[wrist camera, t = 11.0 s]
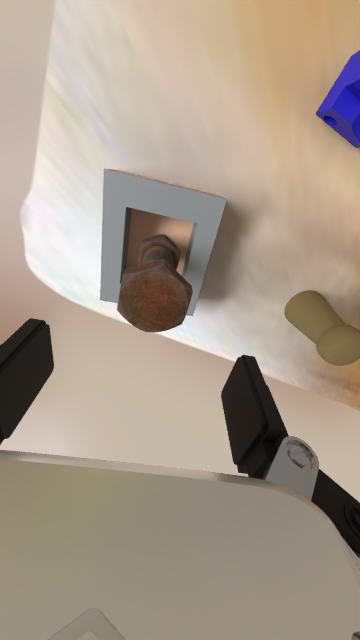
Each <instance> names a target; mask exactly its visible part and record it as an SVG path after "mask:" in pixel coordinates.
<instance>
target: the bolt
mask: <svg viewBox="0 0 360 640" xmlns="http://www.w3.org/2000/svg"><path fill="white" fill-rule="evenodd" d="M180 256H181V251H180V249H179V248H178V247H177V246H176V245H175V244H174V243H173V242H172V241H171V240H170V239H169V238H168V237H167V236H166V235H165V234H163V235H161V234H158V235H155V236H153V237H150V238H147V239H144V240H142V243H141V248H140V253H139V258H138V264H137V265H138V266H135V267H131V268H127V269H125V271H124V273H123V277H122V281H121V286H120V292H119V298H118V306H117V310H118V312H119V313H120V314H121V315H122V316H123V317H124V318H125V319H126V320H127V321H128V322H129V323H131V324H132V325H133V326H135V327H136V328H138V329H140V330H143V331H145V332H161V331H166V330H169V329H172V328H174V327H176V326H179V325H181V324H182V322H183V321H184V318H185V316H186V314H187V311H188V307H189V304H190V301H191V297H192V293H193V290H192V285H190V284H189V283H188V282H187V281H186V280H185V279H184V278H183V277H182V276H181V275H180V274H179V273H178V272H177V267H178V264H179V260H180Z"/></svg>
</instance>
